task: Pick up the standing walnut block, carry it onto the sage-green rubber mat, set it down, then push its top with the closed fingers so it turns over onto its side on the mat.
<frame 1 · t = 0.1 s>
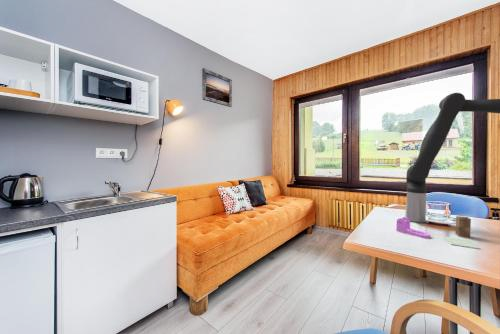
mat: (460, 242, 92), on the table
walnut block: (462, 235, 101), on the table
bracket: (413, 234, 104), on the table
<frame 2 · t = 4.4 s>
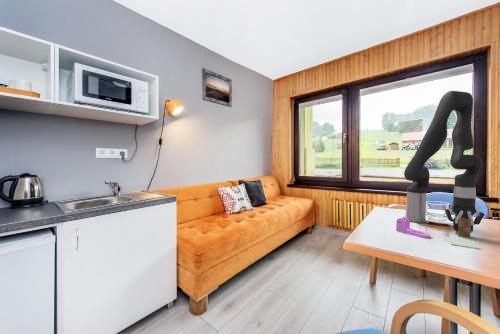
hand: (462, 231, 101), 2 cm above the table, tool pointing down, fingers closed on walnut block, 4 cm apart
walnut block: (462, 235, 101), on the table, touching gripper
everything else where it was.
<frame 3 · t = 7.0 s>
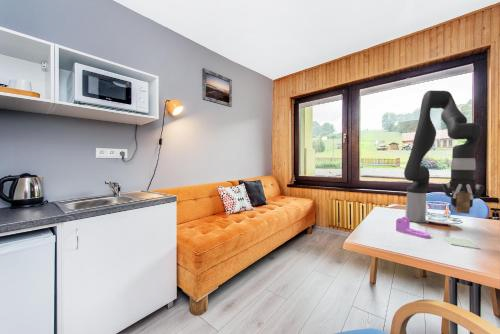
hand: (461, 206, 93), 16 cm above the table, tool pointing down, fingers closed on walnut block, 4 cm apart
walnut block: (461, 212, 93), point 14 cm above the table, touching gripper
everything else where it was.
when the fingers open (4 cm above the table, at t = 9.4 s): walnut block stays where it is, resting on mat.
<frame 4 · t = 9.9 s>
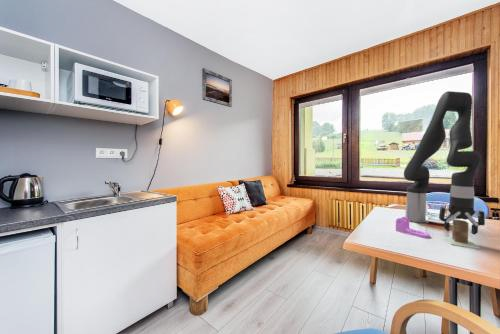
hand: (460, 232, 93), 4 cm above the table, tool pointing down, fingers open, 8 cm apart
walnut block: (459, 241, 93), resting on mat
everything else where it was.
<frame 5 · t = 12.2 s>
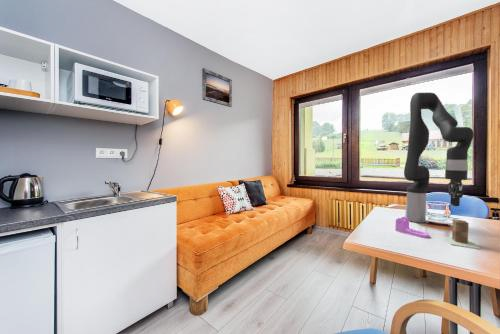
hand: (454, 205, 100), 15 cm above the table, tool pointing down, fingers closed
nothing on the table moved.
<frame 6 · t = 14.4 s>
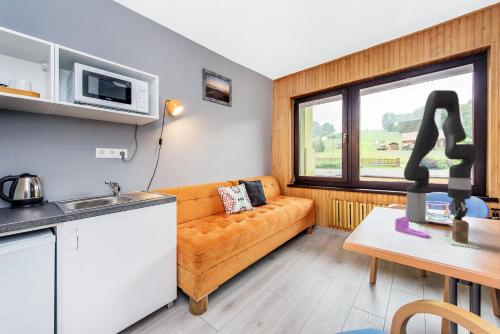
hand: (457, 224, 96), 7 cm above the table, tool pointing down, fingers closed
walnut block: (459, 241, 93), resting on mat, touching gripper
everything else where it was.
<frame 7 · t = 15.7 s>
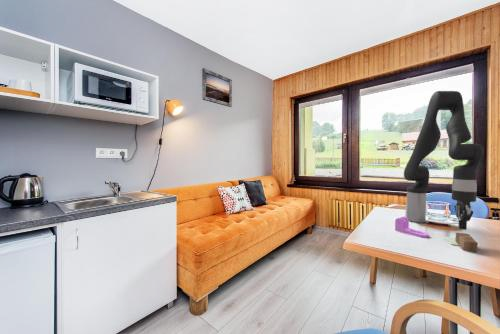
hand: (462, 228, 91), 7 cm above the table, tool pointing down, fingers closed
walnut block: (461, 237, 91), point 3 cm above the table, tilted 95°, touching mat
everything else where it was.
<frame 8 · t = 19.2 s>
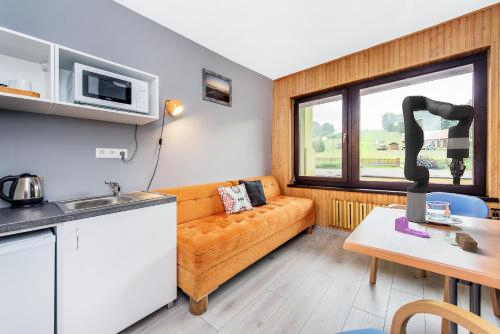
hand: (456, 184, 98), 25 cm above the table, tool pointing down, fingers closed
nothing on the table moved.
at the end: walnut block tilted 95°; walnut block 1.1 cm from the mat (horizontally); the gripper is holding nothing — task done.
